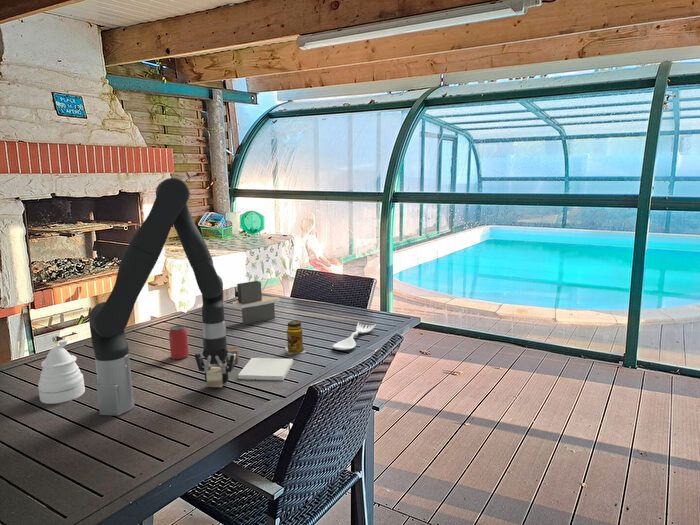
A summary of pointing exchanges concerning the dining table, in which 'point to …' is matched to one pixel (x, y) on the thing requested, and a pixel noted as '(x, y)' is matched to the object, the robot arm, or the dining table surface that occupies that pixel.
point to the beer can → (178, 342)
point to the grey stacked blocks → (254, 303)
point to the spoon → (350, 342)
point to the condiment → (294, 338)
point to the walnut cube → (232, 350)
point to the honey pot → (60, 377)
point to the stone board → (266, 369)
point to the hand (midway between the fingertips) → (217, 382)
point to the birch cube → (214, 377)
